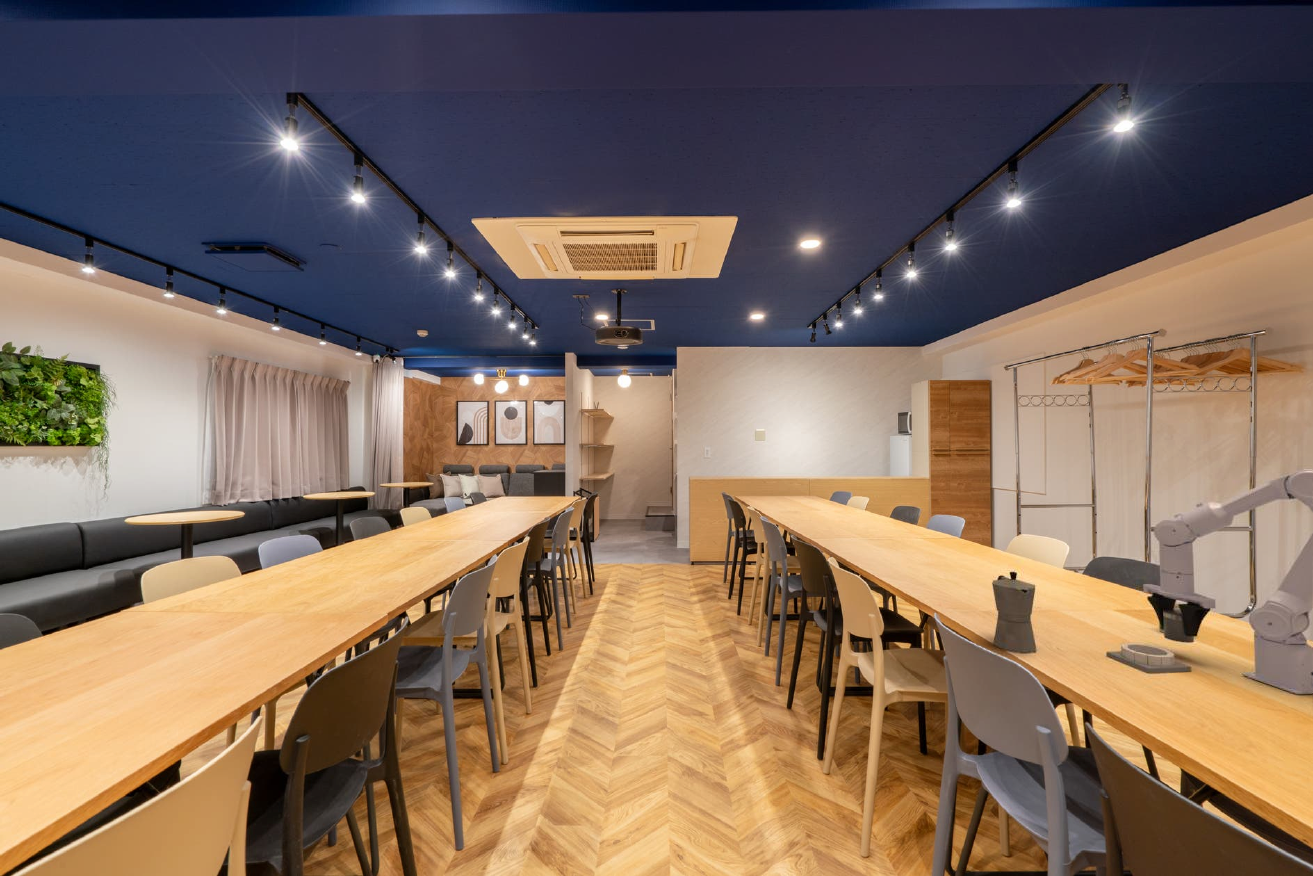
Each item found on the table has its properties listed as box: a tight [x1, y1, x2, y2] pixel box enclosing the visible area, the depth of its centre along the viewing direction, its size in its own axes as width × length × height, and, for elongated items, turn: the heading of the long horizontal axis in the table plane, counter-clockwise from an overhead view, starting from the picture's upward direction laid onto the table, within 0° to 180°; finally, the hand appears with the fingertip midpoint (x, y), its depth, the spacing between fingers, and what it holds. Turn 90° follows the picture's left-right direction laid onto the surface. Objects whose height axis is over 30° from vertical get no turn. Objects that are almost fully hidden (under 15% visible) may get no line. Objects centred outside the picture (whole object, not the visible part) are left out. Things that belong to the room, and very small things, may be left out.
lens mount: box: [1105, 642, 1192, 674], centre depth 124 cm, size 10×10×3 cm
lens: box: [1163, 610, 1195, 644], centre depth 128 cm, size 5×5×6 cm
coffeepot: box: [991, 571, 1037, 654], centre depth 136 cm, size 15×9×18 cm, turn 168°
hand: (1178, 632), depth 128 cm, fingers closed on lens, 5 cm apart
